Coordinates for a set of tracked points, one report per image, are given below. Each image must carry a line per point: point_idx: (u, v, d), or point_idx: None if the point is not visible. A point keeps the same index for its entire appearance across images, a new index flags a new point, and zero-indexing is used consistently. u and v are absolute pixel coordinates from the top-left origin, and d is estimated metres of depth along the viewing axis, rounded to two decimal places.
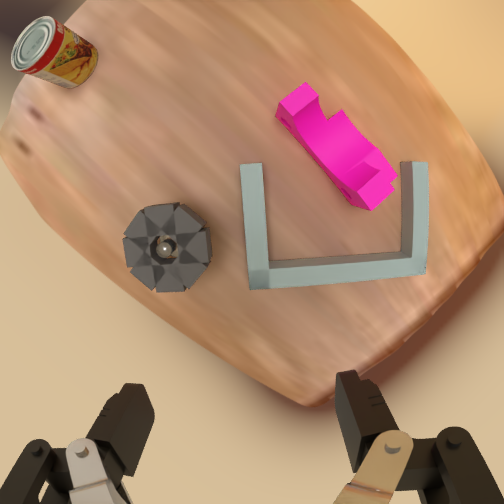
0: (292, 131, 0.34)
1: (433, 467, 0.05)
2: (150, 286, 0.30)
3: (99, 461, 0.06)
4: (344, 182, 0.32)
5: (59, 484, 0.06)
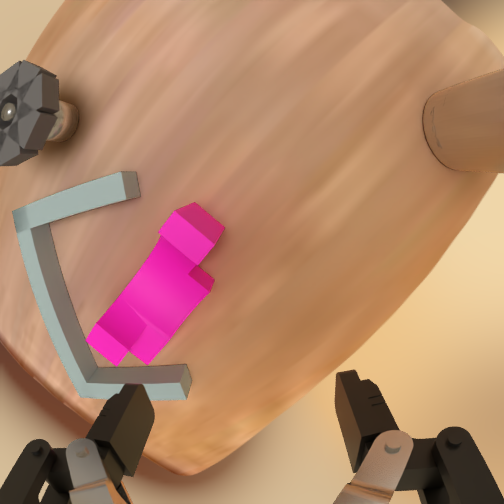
0: None
1: (433, 467, 0.05)
2: None
3: (99, 461, 0.06)
4: (114, 303, 0.25)
5: (59, 484, 0.06)
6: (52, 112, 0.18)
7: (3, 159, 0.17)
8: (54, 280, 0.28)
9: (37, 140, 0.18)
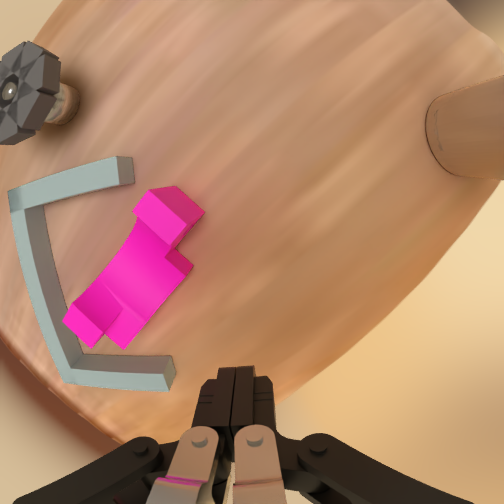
0: None
1: (294, 470, 0.07)
2: None
3: (211, 459, 0.07)
4: (92, 285, 0.24)
5: (151, 487, 0.07)
6: (52, 93, 0.18)
7: (1, 137, 0.16)
8: (44, 262, 0.27)
9: (35, 120, 0.17)
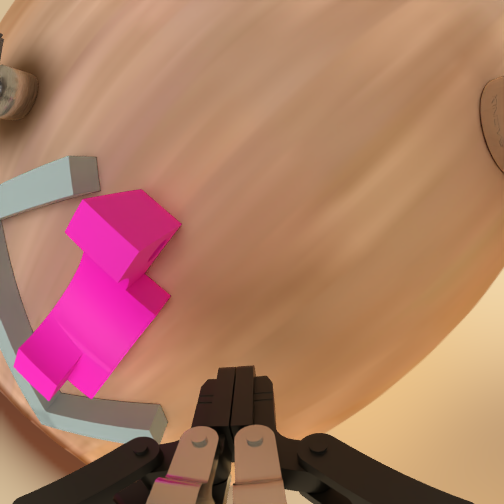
0: None
1: (294, 470, 0.07)
2: None
3: (211, 459, 0.07)
4: (43, 323, 0.17)
5: (151, 487, 0.07)
6: None
7: None
8: (5, 291, 0.20)
9: None
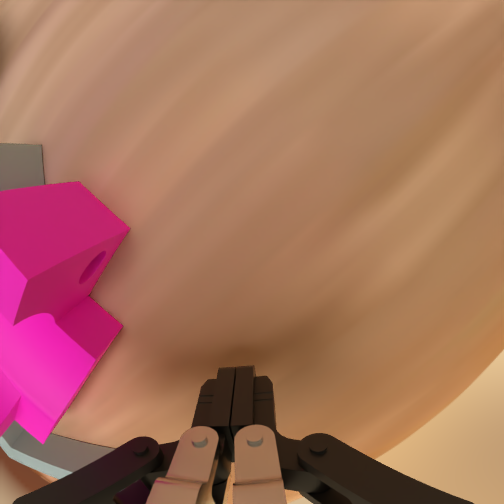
0: None
1: (294, 469, 0.07)
2: None
3: (211, 459, 0.07)
4: None
5: (151, 487, 0.07)
6: None
7: None
8: None
9: None
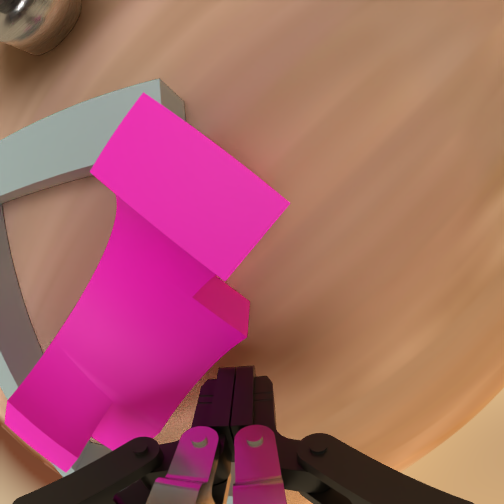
0: None
1: (294, 469, 0.07)
2: None
3: (211, 459, 0.07)
4: (43, 358, 0.10)
5: (151, 487, 0.07)
6: None
7: None
8: (7, 313, 0.13)
9: None
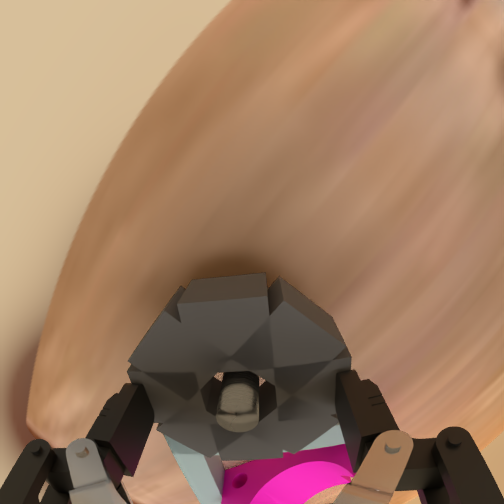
0: None
1: (433, 467, 0.05)
2: (137, 360, 0.11)
3: (99, 461, 0.06)
4: (254, 498, 0.19)
5: (59, 484, 0.06)
6: None
7: (235, 456, 0.12)
8: (220, 477, 0.22)
9: None
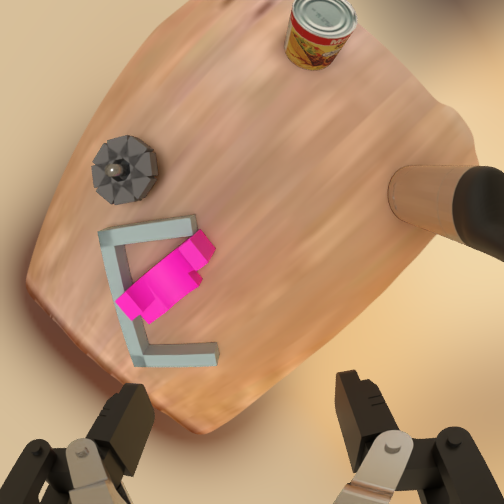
0: (183, 242, 0.43)
1: (433, 467, 0.05)
2: (95, 160, 0.35)
3: (99, 461, 0.06)
4: (137, 281, 0.41)
5: (59, 484, 0.06)
6: (153, 175, 0.38)
7: (119, 201, 0.37)
8: (127, 281, 0.44)
9: (144, 193, 0.37)
